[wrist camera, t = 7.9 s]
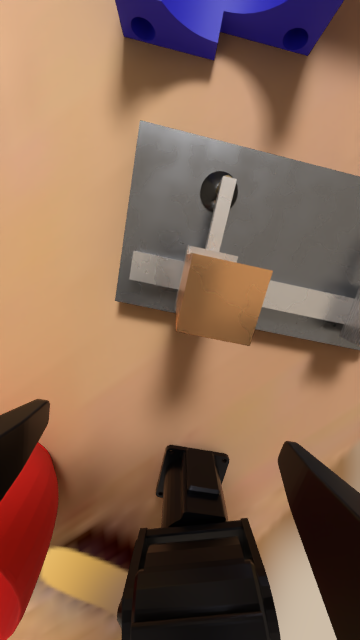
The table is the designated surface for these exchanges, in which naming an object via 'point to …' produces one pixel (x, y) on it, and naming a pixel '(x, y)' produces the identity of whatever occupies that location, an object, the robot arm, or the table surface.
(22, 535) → the ceramic cup
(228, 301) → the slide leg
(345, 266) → the plate
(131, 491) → the table surface
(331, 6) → the cable clip
